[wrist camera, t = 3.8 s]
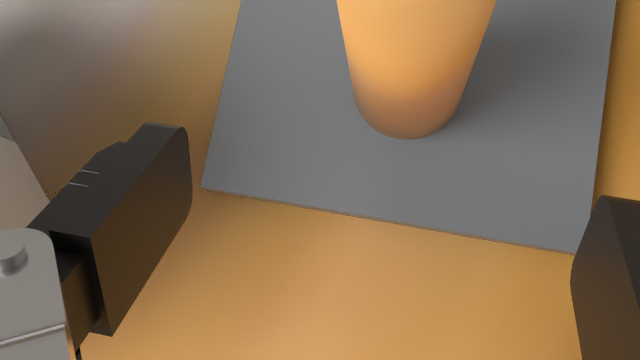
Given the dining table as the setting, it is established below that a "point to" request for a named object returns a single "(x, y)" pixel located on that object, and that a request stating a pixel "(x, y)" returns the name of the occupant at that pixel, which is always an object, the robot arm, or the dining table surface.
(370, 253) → the dining table surface
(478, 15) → the wooden peg
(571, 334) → the dining table surface
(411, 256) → the dining table surface
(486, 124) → the lockout board
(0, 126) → the circuit breaker
